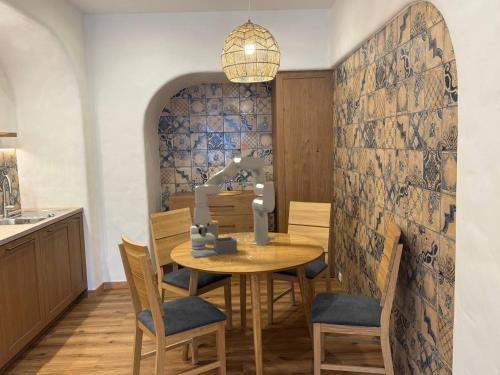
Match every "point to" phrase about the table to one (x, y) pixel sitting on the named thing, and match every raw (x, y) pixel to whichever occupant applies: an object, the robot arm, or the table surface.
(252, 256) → the table surface
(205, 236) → the lid
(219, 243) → the parts tub
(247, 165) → the robot arm
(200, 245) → the supplement tub
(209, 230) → the soap bottle
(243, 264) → the table surface
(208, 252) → the mat
